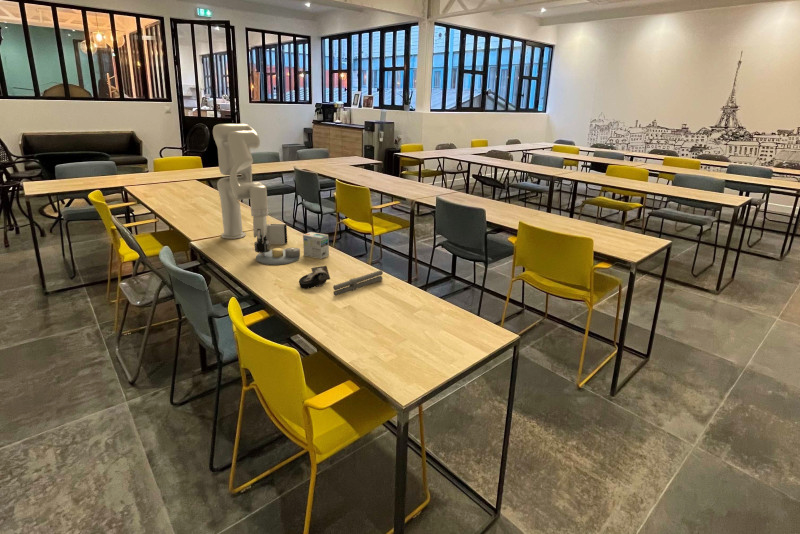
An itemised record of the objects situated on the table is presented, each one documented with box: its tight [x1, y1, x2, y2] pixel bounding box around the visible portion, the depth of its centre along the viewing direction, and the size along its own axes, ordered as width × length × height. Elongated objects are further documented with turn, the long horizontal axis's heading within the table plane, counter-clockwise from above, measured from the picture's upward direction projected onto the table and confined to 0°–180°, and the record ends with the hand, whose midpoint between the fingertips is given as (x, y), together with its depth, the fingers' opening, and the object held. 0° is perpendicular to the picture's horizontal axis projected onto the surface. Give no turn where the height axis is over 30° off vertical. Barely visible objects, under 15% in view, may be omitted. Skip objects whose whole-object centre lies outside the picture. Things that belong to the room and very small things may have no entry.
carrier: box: [255, 247, 301, 266], centre depth 219 cm, size 20×20×4 cm
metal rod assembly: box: [333, 269, 384, 297], centre depth 189 cm, size 26×3×5 cm, turn 136°
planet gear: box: [253, 240, 271, 254], centre depth 217 cm, size 7×7×4 cm
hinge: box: [266, 223, 288, 245], centre depth 239 cm, size 14×5×10 cm, turn 106°
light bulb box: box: [302, 231, 330, 260], centre depth 223 cm, size 11×7×11 cm, turn 65°
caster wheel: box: [298, 265, 331, 290], centre depth 189 cm, size 7×11×10 cm
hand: (262, 248), depth 218 cm, fingers closed on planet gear, 6 cm apart
